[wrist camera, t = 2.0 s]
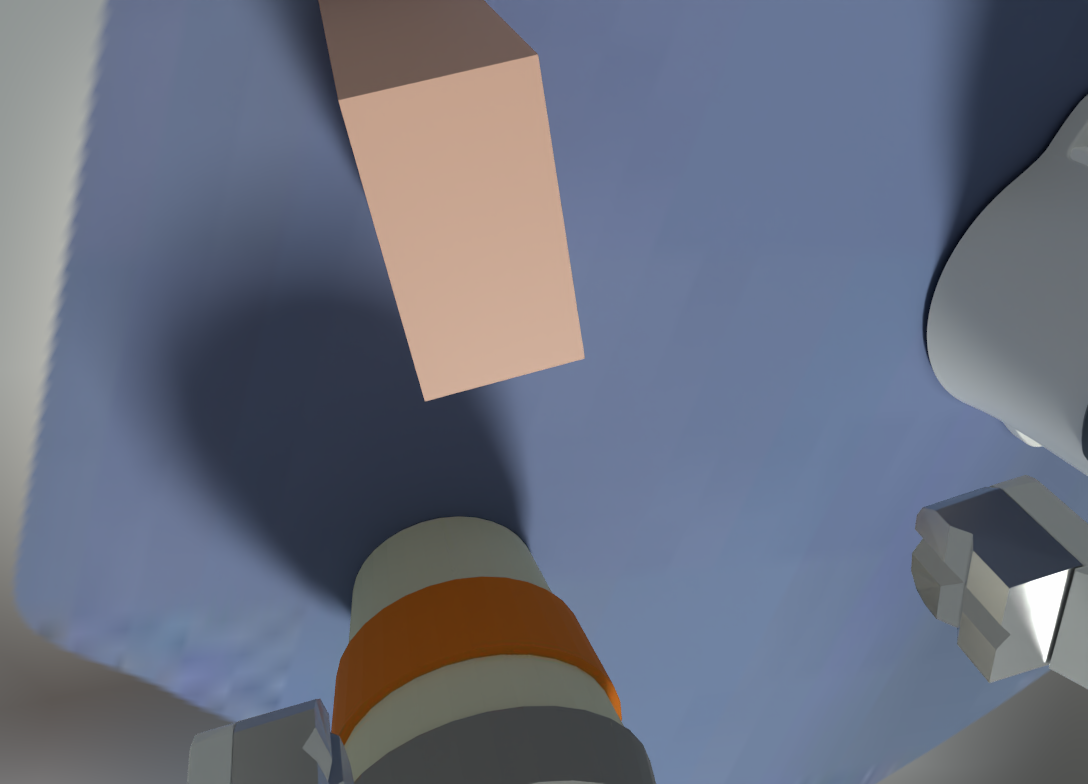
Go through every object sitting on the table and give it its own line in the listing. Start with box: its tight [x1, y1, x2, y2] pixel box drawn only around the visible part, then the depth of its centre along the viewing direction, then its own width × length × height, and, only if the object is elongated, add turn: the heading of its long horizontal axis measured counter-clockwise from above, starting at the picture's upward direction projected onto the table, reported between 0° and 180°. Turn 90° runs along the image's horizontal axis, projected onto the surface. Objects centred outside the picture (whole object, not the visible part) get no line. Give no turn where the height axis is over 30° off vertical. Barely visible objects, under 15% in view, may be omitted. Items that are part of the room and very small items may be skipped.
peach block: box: [318, 0, 585, 401], centre depth 26 cm, size 4×8×12 cm, turn 9°
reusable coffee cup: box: [331, 516, 656, 784], centre depth 38 cm, size 13×13×15 cm
